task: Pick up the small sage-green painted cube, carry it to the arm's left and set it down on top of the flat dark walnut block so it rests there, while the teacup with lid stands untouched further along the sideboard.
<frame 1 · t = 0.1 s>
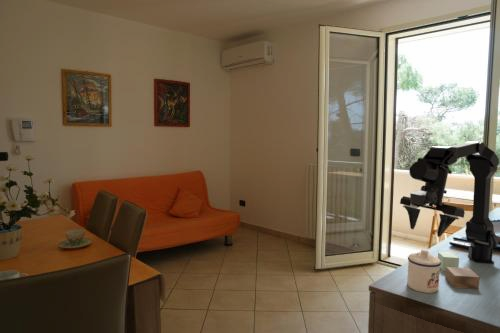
hand: (424, 232, 112), 15 cm above the sideboard, tool pointing down, fingers open, 9 cm apart
teacup with lid: (424, 286, 109), on the sideboard
walnut block: (461, 284, 111), on the sideboard
green cube: (447, 268, 123), on the sideboard
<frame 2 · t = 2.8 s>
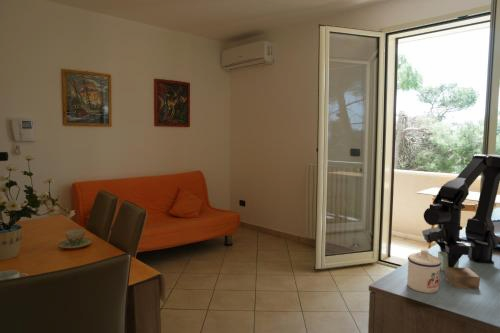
hand: (447, 265, 123), 1 cm above the sideboard, tool pointing down, fingers closed on green cube, 5 cm apart
green cube: (447, 268, 123), on the sideboard, touching gripper
everything else where it was.
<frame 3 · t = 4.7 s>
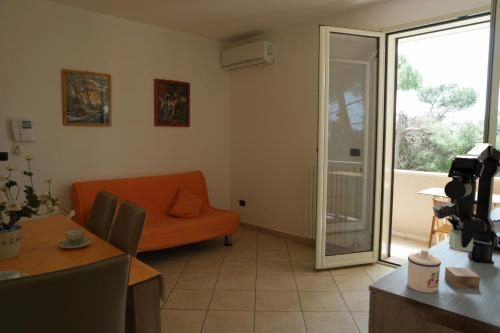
hand: (460, 244, 111), 12 cm above the sideboard, tool pointing down, fingers closed on green cube, 5 cm apart
green cube: (460, 247, 112), point 11 cm above the sideboard, touching gripper
everything else where it was.
when the fingers open (6 cm above the sideboard, at t = 6.6 s): green cube drops 1 cm, point 4 cm above the sideboard.
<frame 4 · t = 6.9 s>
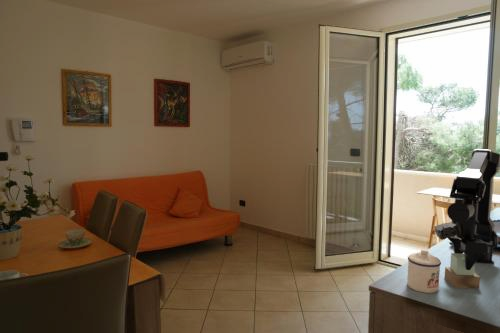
hand: (462, 264, 111), 6 cm above the sideboard, tool pointing down, fingers open, 8 cm apart
green cube: (461, 271, 111), point 4 cm above the sideboard
everything else where it was.
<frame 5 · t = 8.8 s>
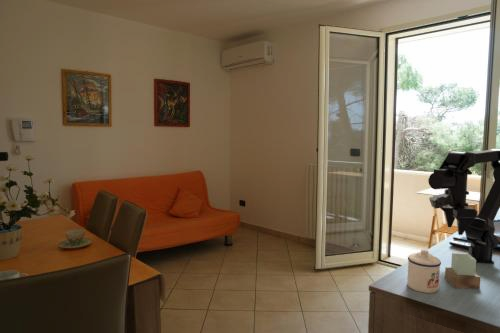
hand: (454, 230, 125), 12 cm above the sideboard, tool pointing down, fingers open, 9 cm apart
nothing on the sideboard moved.
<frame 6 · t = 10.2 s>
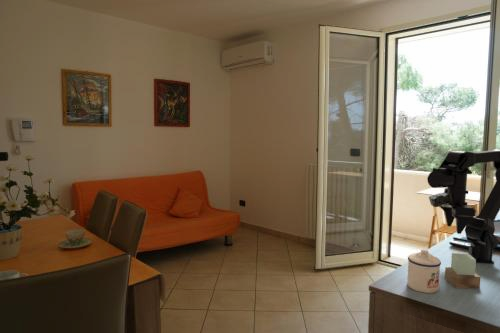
hand: (453, 229, 126), 13 cm above the sideboard, tool pointing down, fingers open, 9 cm apart
nothing on the sideboard moved.
at the end: green cube 0.1 cm off-centre on the walnut block, point 4.0 cm above the walnut block's base; green cube tilted 0°; the gripper is holding nothing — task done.
